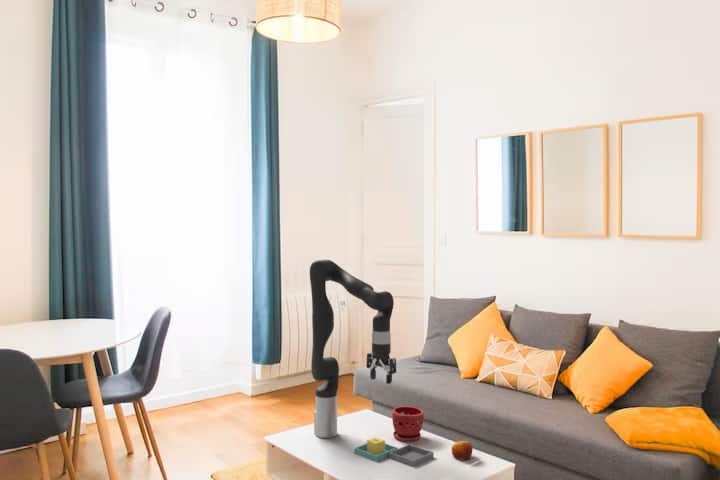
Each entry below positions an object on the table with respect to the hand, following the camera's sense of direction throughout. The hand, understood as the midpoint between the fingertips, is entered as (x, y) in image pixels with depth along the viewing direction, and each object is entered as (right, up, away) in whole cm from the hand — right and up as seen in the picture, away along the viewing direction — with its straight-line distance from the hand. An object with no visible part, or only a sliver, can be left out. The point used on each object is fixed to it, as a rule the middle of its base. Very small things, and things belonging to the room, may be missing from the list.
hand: (381, 381), depth 243 cm
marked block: (-2, -27, -5) cm, 28 cm away
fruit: (+31, -28, -9) cm, 43 cm away
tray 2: (+11, -28, -10) cm, 31 cm away
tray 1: (-2, -28, -5) cm, 28 cm away
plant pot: (+12, -27, +12) cm, 32 cm away
